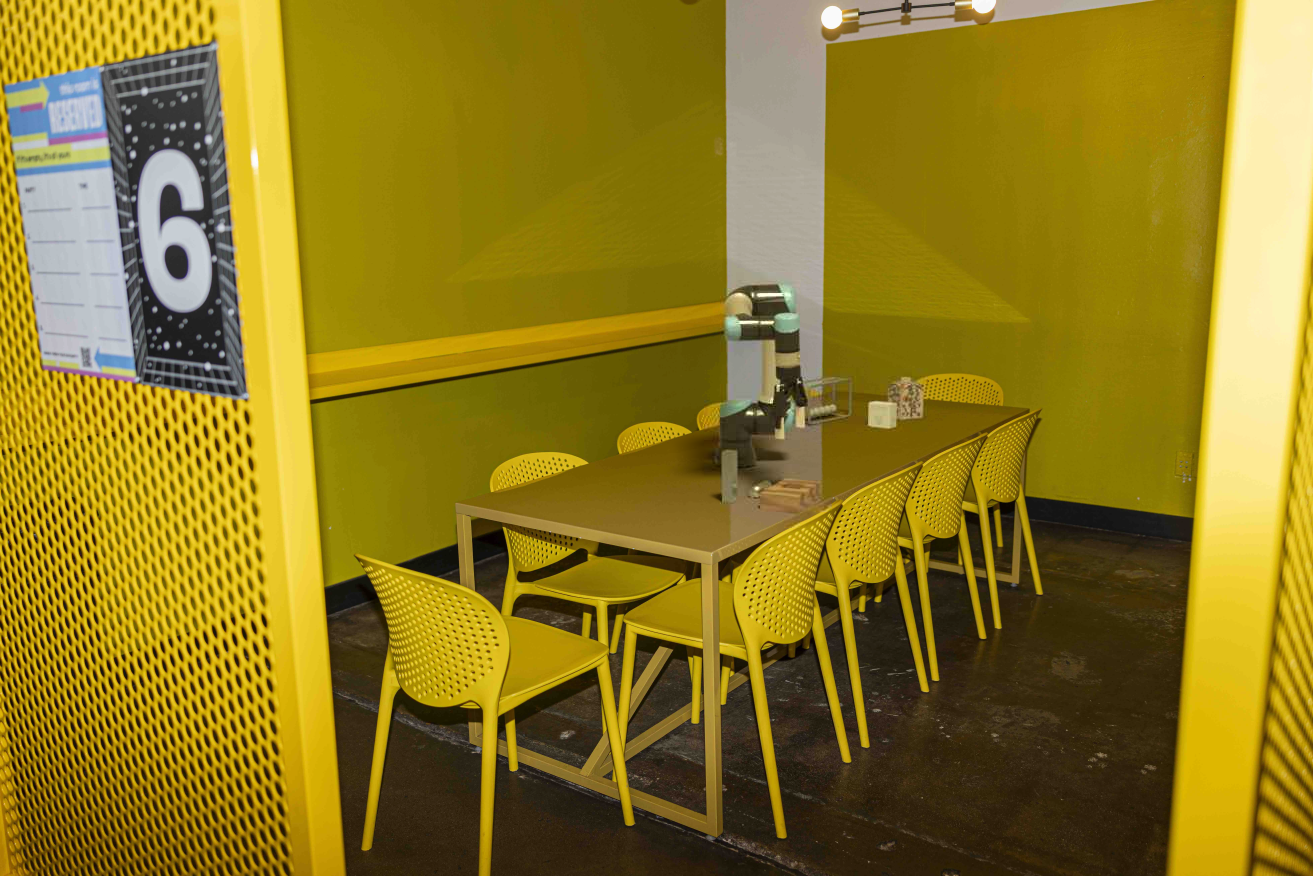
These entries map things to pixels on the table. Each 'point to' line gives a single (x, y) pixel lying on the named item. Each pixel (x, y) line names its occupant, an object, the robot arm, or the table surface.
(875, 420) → the skincare box
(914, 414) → the decorative jar
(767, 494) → the holder block
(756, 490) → the round bit
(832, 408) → the newton's cradle
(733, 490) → the square bit
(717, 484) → the table surface
